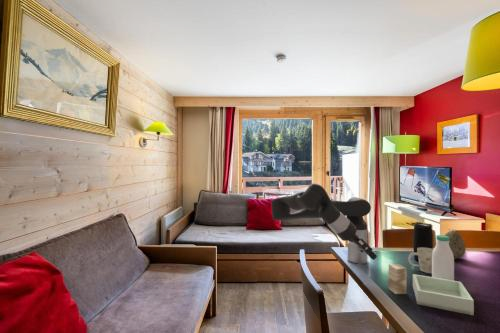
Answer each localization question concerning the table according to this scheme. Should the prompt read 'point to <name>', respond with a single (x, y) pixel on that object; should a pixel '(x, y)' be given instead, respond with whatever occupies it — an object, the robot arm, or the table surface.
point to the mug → (423, 259)
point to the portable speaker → (422, 237)
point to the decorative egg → (456, 244)
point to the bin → (442, 294)
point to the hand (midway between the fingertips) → (369, 254)
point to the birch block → (397, 278)
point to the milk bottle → (442, 259)
